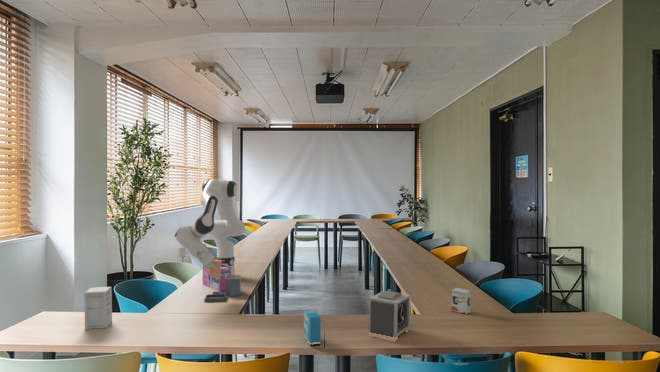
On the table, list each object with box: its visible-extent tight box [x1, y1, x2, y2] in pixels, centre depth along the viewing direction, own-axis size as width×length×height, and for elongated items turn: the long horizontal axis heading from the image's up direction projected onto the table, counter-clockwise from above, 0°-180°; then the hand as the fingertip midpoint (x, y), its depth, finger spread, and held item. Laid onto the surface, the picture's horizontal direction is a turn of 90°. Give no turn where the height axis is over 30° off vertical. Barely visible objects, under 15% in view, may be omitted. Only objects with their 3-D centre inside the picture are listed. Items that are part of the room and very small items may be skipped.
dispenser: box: [212, 274, 242, 297], centre depth 269 cm, size 16×10×10 cm, turn 98°
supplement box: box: [83, 286, 113, 330], centre depth 212 cm, size 10×9×17 cm
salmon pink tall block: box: [210, 259, 221, 277], centre depth 257 cm, size 6×3×9 cm, turn 98°
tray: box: [204, 293, 227, 303], centre depth 257 cm, size 11×9×2 cm
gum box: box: [202, 264, 231, 292], centre depth 286 cm, size 24×8×14 cm, turn 42°
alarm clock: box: [368, 290, 411, 337], centre depth 206 cm, size 18×13×18 cm
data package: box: [303, 309, 322, 343], centre depth 195 cm, size 12×4×12 cm, turn 17°
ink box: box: [451, 287, 472, 312], centre depth 238 cm, size 9×5×12 cm, turn 47°
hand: (216, 267), depth 257 cm, fingers closed on salmon pink tall block, 3 cm apart
